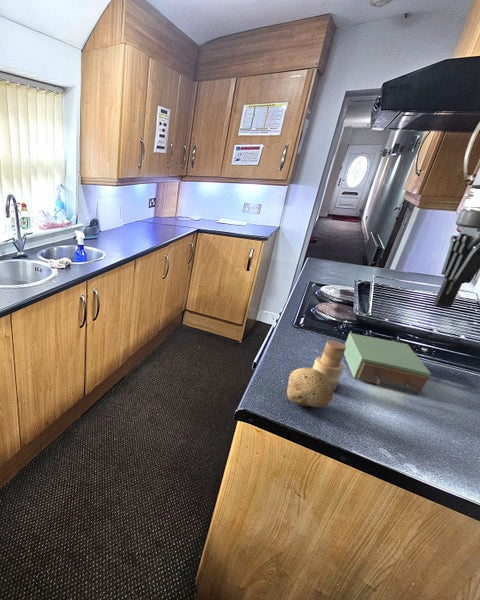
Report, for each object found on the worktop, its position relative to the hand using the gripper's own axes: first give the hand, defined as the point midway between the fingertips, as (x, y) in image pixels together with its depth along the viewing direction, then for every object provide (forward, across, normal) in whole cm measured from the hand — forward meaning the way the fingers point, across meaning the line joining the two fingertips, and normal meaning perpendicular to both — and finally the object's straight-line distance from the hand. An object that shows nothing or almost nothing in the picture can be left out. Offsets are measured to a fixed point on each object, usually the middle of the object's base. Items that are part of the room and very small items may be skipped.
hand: (441, 305), depth 82 cm
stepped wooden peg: (+22, +15, -22) cm, 35 cm away
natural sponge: (+22, +27, -27) cm, 44 cm away
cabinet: (+22, 0, -7) cm, 23 cm away
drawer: (+21, +4, -7) cm, 22 cm away
